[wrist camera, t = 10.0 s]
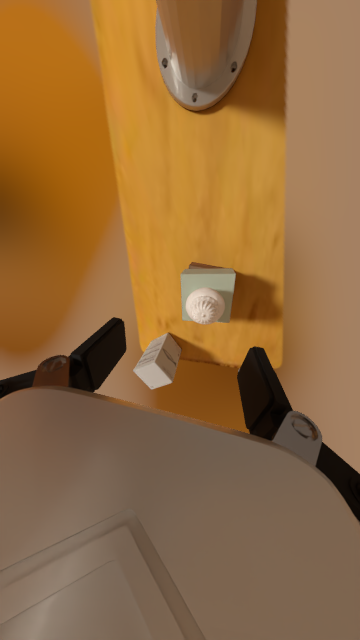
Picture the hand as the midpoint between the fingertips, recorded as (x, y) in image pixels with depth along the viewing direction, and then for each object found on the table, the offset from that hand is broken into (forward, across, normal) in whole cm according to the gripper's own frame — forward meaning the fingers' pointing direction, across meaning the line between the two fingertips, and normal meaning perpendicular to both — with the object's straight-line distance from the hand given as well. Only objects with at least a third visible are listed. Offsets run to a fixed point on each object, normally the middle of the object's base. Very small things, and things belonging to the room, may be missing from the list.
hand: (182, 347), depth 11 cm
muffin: (+17, -2, +3) cm, 17 cm away
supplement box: (+27, +6, +24) cm, 36 cm away
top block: (+22, -2, +3) cm, 22 cm away
